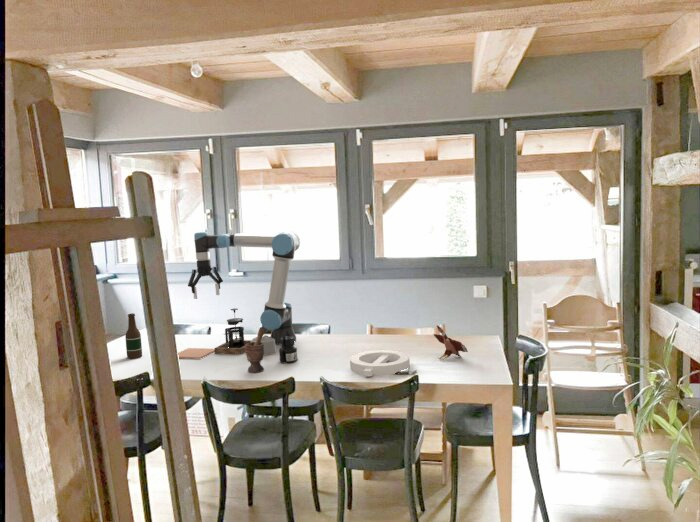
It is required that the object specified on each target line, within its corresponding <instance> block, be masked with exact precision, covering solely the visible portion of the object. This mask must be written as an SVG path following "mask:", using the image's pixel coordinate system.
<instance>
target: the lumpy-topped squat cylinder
mask: <svg viewBox="0 0 700 522" xmlns="http://www.w3.org/2000/svg"><path fill="white" fill-rule="evenodd" d="M256 340H257V336H256V337H254V338H252V339H251V341H250V343H251V342H256ZM260 342H261V343H263V345H264V355H263V356H268V355H269V356H271V355H274V354H276V352H277V351H276V350H277V349H276V344H275V339H273V338H271V337H270V335H266V334H265V335H263V337H262V339H261V341H260Z"/></svg>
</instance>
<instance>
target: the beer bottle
mask: <svg viewBox="0 0 700 522" xmlns="http://www.w3.org/2000/svg"><path fill="white" fill-rule="evenodd" d="M127 317H128V318H127V319H128V321H127V323H128V325H127V326H128V327H127V328H128V329H127V330H126V333H125V347H126V358H127V359H128V360H136V359H140V358H142V357H143V348H142V335H141V332H140V330H139V329H138V327H137V323H136V318H135V317H136V314H135V313H129V314H127Z"/></svg>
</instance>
